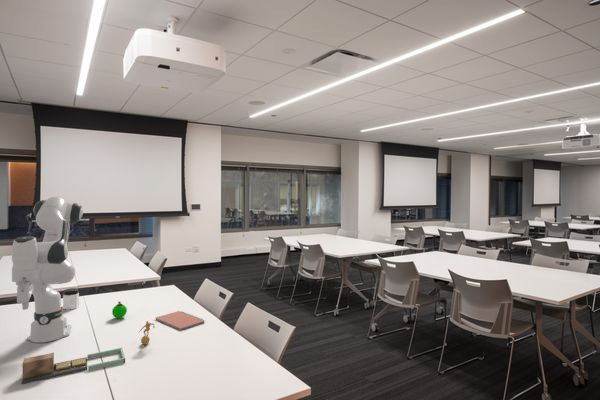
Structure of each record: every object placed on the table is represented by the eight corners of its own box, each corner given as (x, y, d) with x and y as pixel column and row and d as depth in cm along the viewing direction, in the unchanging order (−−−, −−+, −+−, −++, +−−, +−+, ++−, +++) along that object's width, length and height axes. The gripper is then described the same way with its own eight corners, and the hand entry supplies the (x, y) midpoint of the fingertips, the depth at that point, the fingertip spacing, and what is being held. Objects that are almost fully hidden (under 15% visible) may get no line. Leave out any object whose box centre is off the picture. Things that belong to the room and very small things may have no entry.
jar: (64, 310, 231) (64, 292, 231) (61, 308, 237) (61, 289, 237) (80, 307, 237) (80, 289, 237) (77, 305, 243) (77, 287, 243)
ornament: (123, 320, 215) (123, 303, 214) (109, 320, 214) (109, 303, 214) (129, 315, 223) (129, 299, 222) (115, 315, 222) (115, 299, 222)
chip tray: (88, 373, 151) (88, 366, 151) (87, 361, 162) (87, 354, 162) (125, 365, 158) (125, 358, 158) (122, 353, 169) (122, 347, 169)
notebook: (206, 323, 211) (206, 319, 211) (180, 331, 198) (180, 328, 198) (180, 313, 228) (180, 310, 228) (155, 320, 215) (155, 317, 215)
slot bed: (21, 387, 140) (21, 381, 140) (25, 375, 149) (25, 369, 149) (87, 372, 152) (87, 367, 152) (86, 362, 161) (86, 356, 161)
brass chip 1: (56, 373, 148) (56, 368, 148) (56, 368, 153) (56, 363, 153) (70, 370, 151) (70, 365, 151) (70, 365, 155) (70, 361, 155)
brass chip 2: (72, 370, 151) (71, 365, 151) (72, 365, 156) (72, 360, 155) (85, 367, 154) (85, 362, 154) (85, 362, 158) (85, 358, 158)
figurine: (150, 340, 185) (150, 317, 185) (157, 343, 182) (157, 319, 181) (135, 345, 178) (135, 321, 178) (141, 348, 175) (141, 324, 175)
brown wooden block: (22, 380, 143) (22, 363, 142) (24, 375, 147) (23, 358, 147) (53, 374, 148) (53, 357, 148) (53, 369, 152) (53, 352, 152)
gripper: (32, 279, 144) (32, 314, 144) (36, 270, 161) (37, 301, 161) (12, 281, 140) (12, 317, 141) (18, 272, 158) (19, 303, 158)
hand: (25, 308), depth 151 cm, fingers closed
